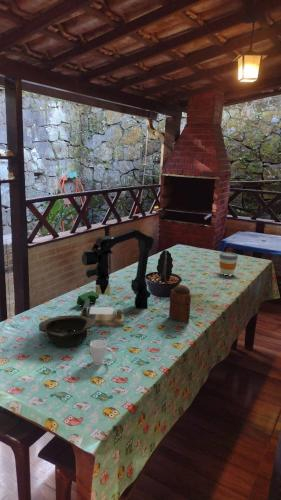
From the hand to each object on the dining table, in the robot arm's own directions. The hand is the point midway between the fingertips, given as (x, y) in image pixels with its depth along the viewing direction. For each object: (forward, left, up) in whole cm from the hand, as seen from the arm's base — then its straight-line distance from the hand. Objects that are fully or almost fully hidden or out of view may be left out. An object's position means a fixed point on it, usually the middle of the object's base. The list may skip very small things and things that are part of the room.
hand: (103, 292), depth 184 cm
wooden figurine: (-39, +2, -12) cm, 41 cm away
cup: (-3, +45, -12) cm, 47 cm away
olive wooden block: (0, 0, 0) cm, 0 cm away
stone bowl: (+14, +25, -13) cm, 31 cm away
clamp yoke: (+7, +8, -12) cm, 16 cm away
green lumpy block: (+9, -13, -13) cm, 20 cm away
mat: (+1, -4, -12) cm, 13 cm away
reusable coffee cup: (-83, -76, -12) cm, 113 cm away
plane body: (0, +8, -12) cm, 15 cm away
